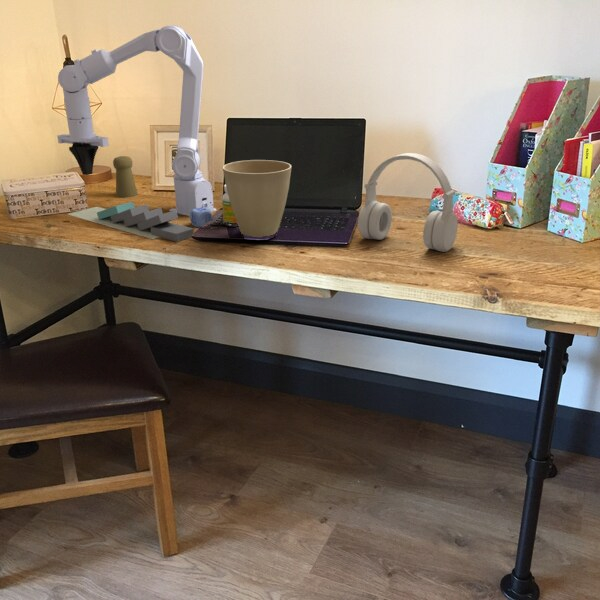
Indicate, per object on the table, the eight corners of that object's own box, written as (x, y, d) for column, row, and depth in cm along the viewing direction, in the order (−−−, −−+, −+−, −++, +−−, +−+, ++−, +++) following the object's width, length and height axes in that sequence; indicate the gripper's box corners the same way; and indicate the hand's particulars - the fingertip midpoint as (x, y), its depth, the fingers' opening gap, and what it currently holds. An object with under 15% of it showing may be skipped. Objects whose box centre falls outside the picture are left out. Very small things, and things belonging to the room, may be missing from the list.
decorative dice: (199, 229, 155) (197, 212, 154) (190, 225, 158) (189, 209, 157) (213, 226, 158) (212, 209, 156) (205, 222, 161) (203, 206, 159)
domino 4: (156, 226, 157) (178, 217, 151) (139, 231, 154) (161, 222, 147) (153, 218, 157) (175, 210, 151) (136, 223, 153) (158, 215, 147)
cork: (131, 192, 190) (127, 153, 186) (141, 196, 186) (137, 156, 181) (112, 195, 186) (106, 156, 182) (121, 199, 182) (116, 159, 178)
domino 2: (129, 218, 163) (149, 211, 157) (112, 223, 160) (132, 216, 154) (127, 211, 163) (147, 204, 157) (110, 216, 160) (130, 208, 153)
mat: (183, 230, 154) (183, 229, 154) (152, 240, 148) (152, 239, 148) (97, 207, 175) (97, 206, 175) (66, 215, 169) (66, 214, 168)
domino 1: (116, 215, 167) (135, 208, 161) (99, 219, 163) (118, 213, 157) (113, 208, 166) (133, 201, 160) (96, 212, 163) (115, 206, 157)
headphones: (355, 242, 144) (357, 153, 137) (373, 232, 151) (376, 146, 143) (442, 257, 134) (448, 162, 127) (457, 246, 141) (464, 155, 133)
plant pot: (279, 249, 140) (277, 175, 134) (215, 243, 145) (210, 171, 139) (301, 229, 153) (300, 160, 147) (242, 224, 158) (239, 157, 152)
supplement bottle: (220, 227, 156) (217, 187, 152) (228, 221, 161) (225, 181, 157) (242, 229, 155) (240, 188, 151) (249, 222, 160) (247, 182, 156)
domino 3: (142, 222, 160) (163, 215, 154) (125, 227, 157) (146, 219, 151) (140, 215, 160) (161, 207, 154) (123, 219, 157) (143, 212, 150)
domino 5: (168, 229, 155) (194, 236, 149) (151, 234, 151) (177, 241, 146) (167, 221, 154) (193, 228, 149) (150, 226, 150) (176, 234, 145)
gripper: (114, 117, 160) (121, 173, 165) (69, 114, 166) (77, 168, 171) (93, 121, 154) (101, 179, 159) (47, 118, 160) (56, 174, 165)
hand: (87, 174), depth 165 cm, fingers closed
